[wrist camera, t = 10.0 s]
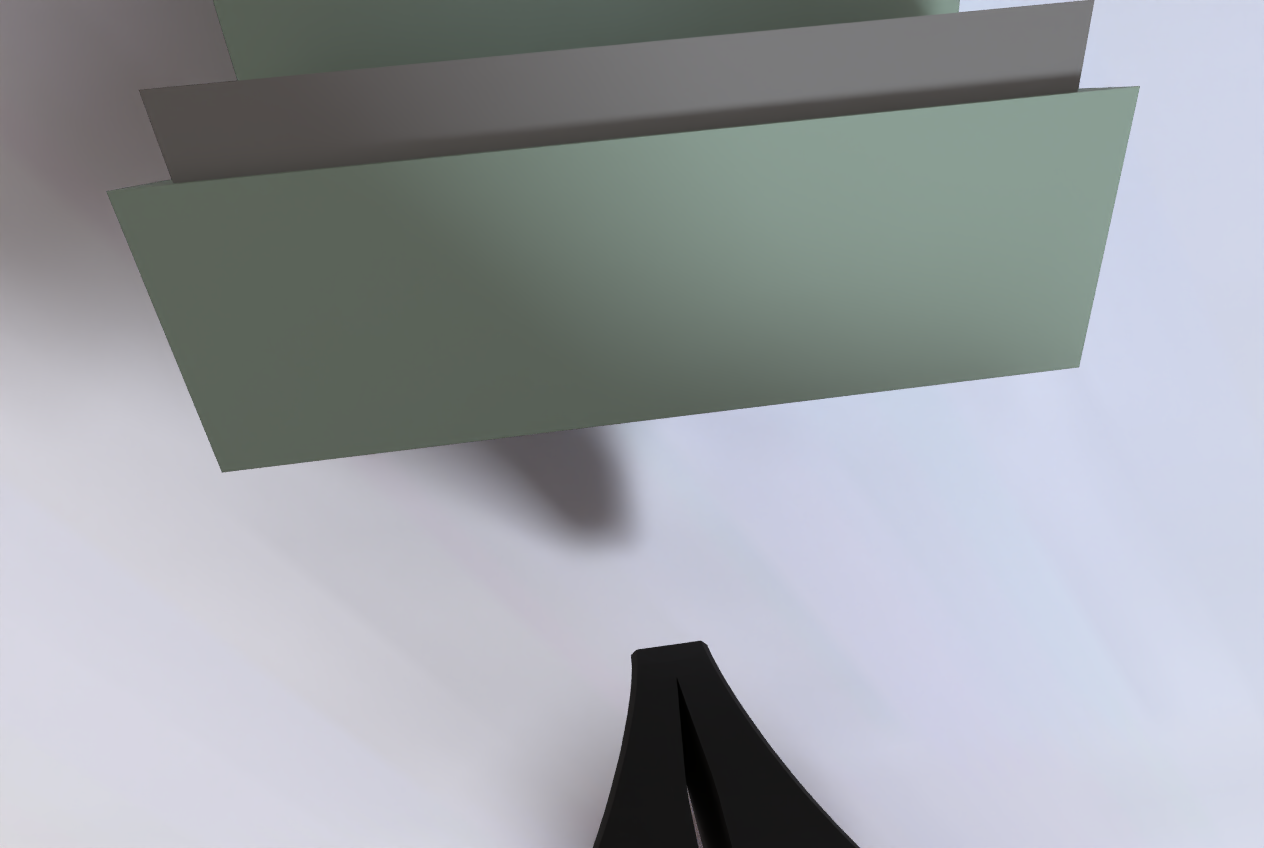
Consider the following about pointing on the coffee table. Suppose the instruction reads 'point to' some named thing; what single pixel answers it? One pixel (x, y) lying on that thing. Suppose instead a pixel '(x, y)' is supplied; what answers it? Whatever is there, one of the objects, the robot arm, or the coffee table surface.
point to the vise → (502, 27)
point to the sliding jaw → (627, 230)
